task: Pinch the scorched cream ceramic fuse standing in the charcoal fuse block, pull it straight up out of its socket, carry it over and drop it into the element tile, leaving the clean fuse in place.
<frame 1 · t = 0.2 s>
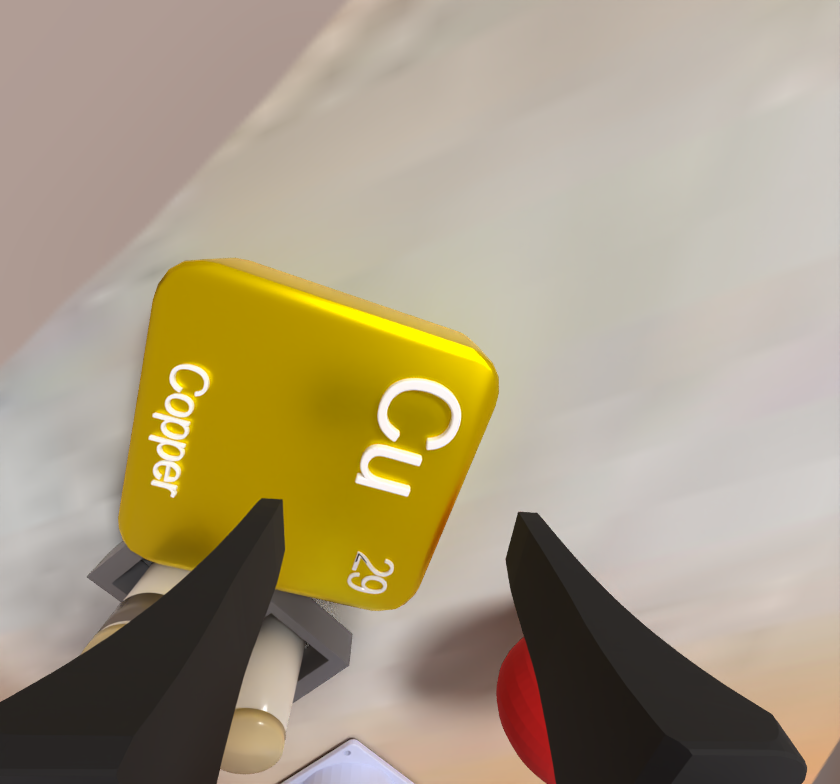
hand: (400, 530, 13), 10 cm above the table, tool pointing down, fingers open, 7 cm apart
fuse block: (239, 594, 26), on the table
blown fuse: (195, 558, 25), resting in fuse block
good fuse: (280, 626, 27), resting in fuse block
light bulb: (541, 596, 28), on the table
element tile: (319, 425, 24), on the table, touching fuse block
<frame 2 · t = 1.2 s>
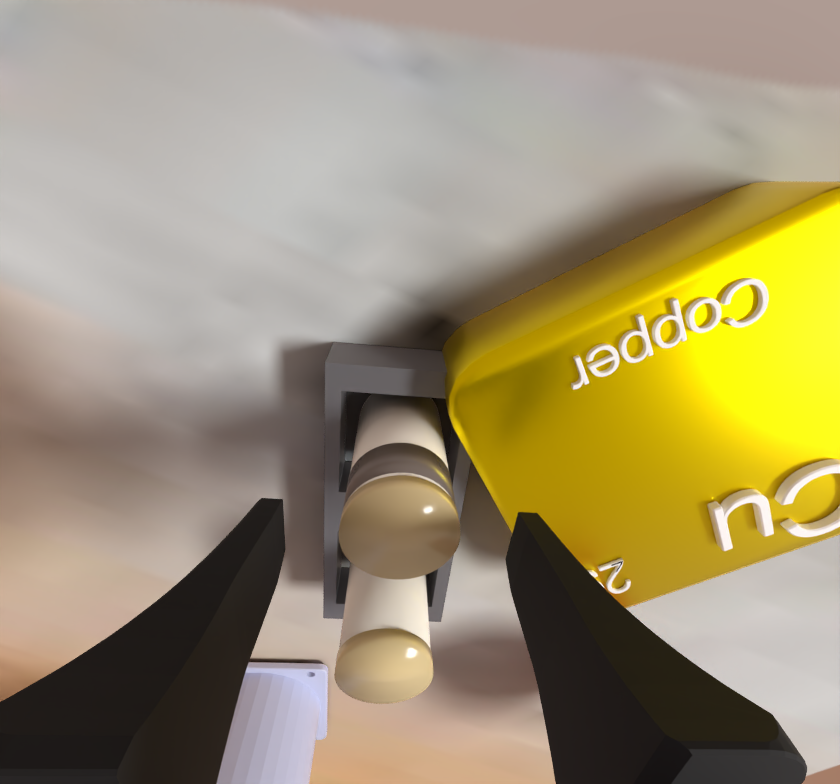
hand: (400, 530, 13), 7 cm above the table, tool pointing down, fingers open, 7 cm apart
fuse block: (393, 483, 21), on the table
blown fuse: (399, 420, 19), resting in fuse block
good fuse: (388, 536, 22), resting in fuse block
element tile: (634, 402, 20), on the table
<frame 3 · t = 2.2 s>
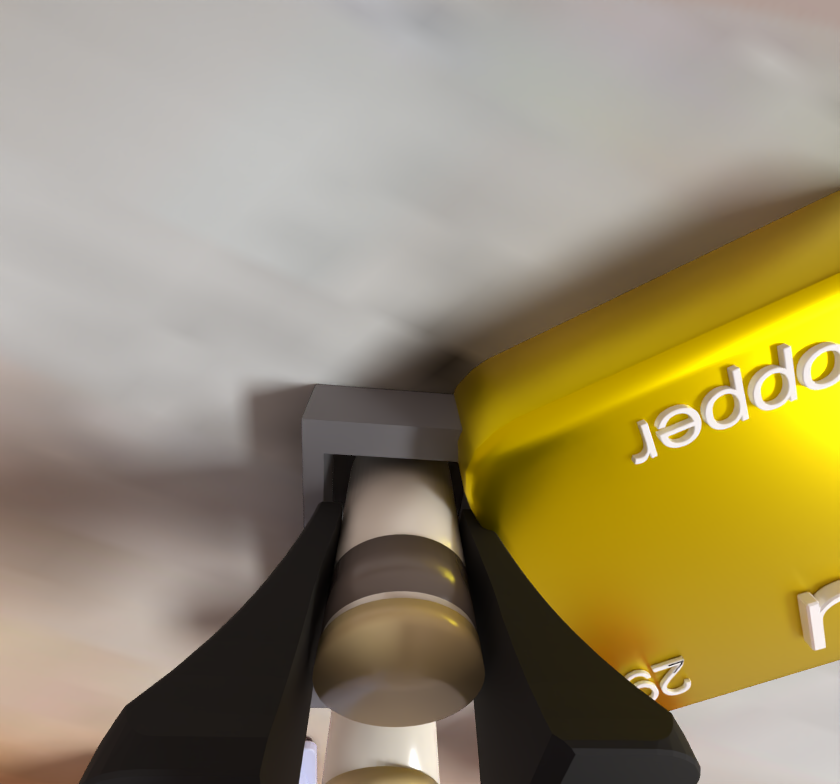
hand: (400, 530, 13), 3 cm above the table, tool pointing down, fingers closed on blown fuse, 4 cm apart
fuse block: (393, 548, 17), on the table
blown fuse: (400, 477, 15), resting in fuse block, touching gripper
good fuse: (387, 606, 19), resting in fuse block
element tile: (690, 452, 16), on the table, touching fuse block
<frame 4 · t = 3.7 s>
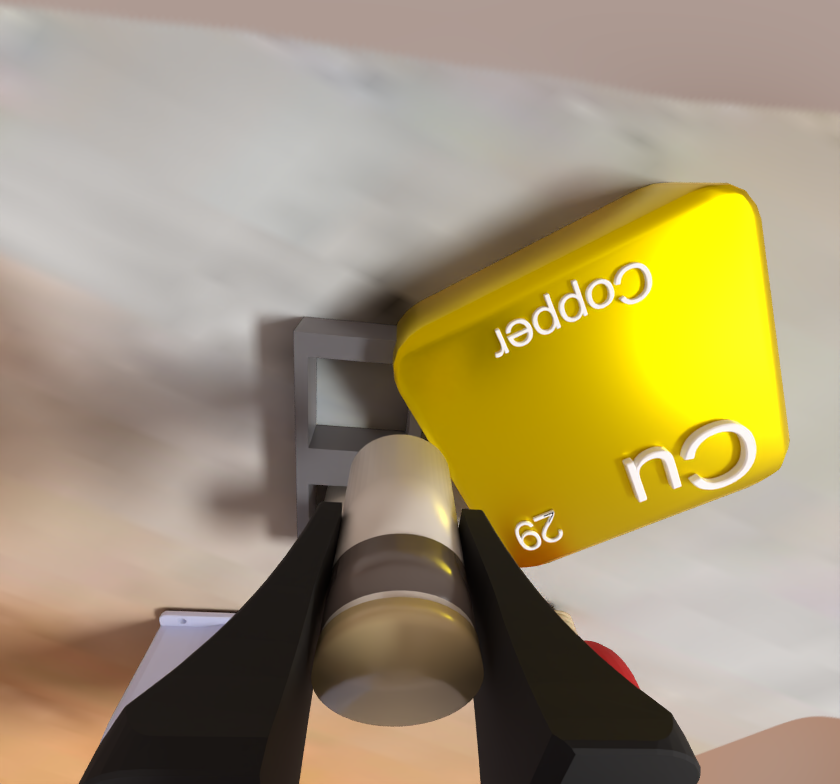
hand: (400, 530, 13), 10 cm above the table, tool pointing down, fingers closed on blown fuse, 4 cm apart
fuse block: (360, 445, 23), on the table
blown fuse: (399, 476, 15), point 7 cm above the table, touching gripper
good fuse: (357, 495, 25), resting in fuse block
light bulb: (548, 609, 31), on the table
element tile: (569, 376, 23), on the table, touching fuse block
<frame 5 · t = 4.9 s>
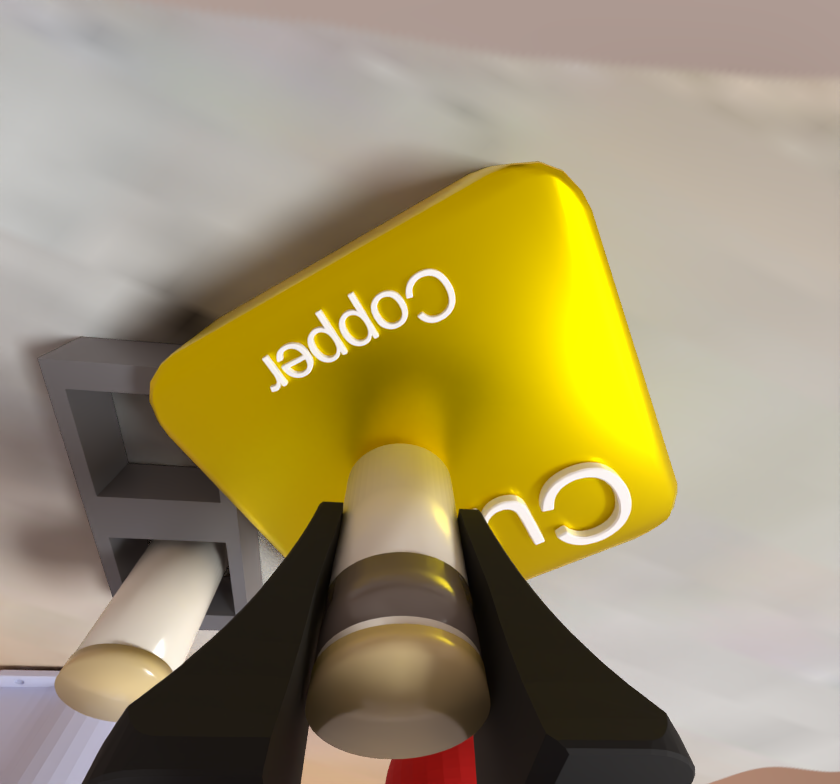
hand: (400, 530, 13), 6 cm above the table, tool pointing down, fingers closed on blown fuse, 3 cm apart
fuse block: (187, 486, 20), on the table
blown fuse: (399, 487, 15), point 4 cm above the table, touching gripper
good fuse: (197, 541, 21), resting in fuse block
light bulb: (449, 661, 27), on the table
element tile: (429, 402, 19), on the table
when the fingers open (6 cm above the table, at t = 5.2 s): blown fuse stays where it is, resting on element tile.
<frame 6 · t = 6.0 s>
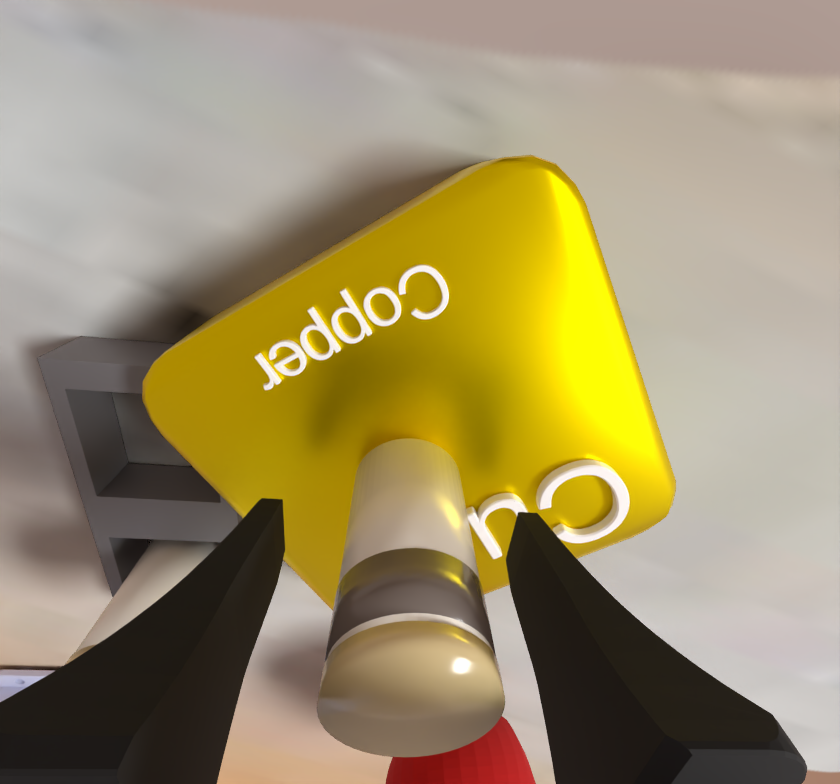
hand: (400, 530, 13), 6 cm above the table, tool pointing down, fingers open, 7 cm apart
fuse block: (187, 486, 20), on the table
blown fuse: (407, 482, 15), point 4 cm above the table, touching element tile
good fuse: (197, 541, 21), resting in fuse block
light bulb: (449, 661, 27), on the table
element tile: (426, 400, 19), on the table, touching blown fuse
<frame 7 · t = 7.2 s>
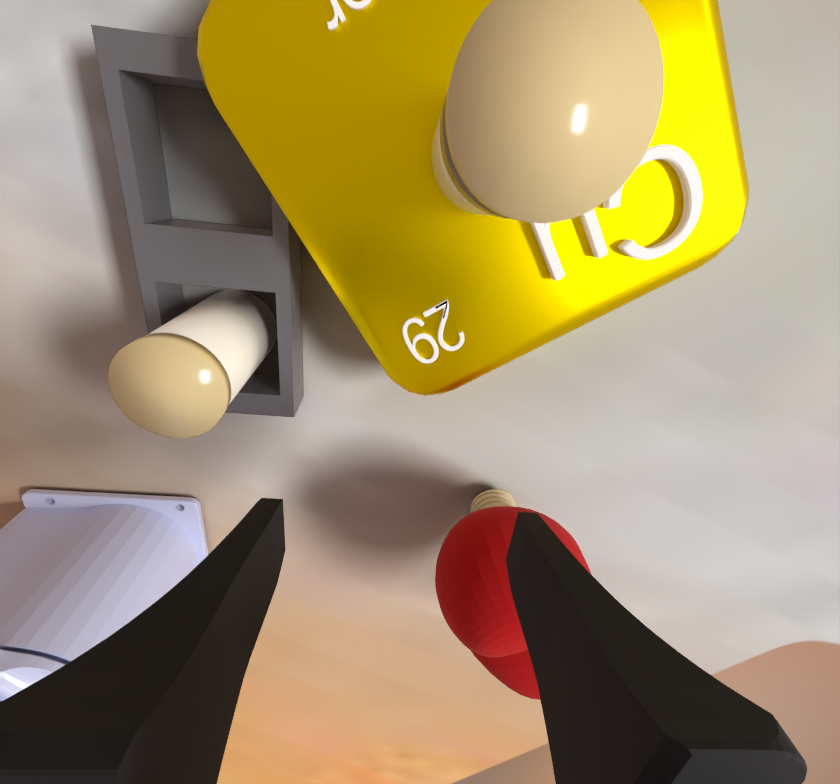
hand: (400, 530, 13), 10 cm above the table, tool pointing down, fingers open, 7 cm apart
fuse block: (232, 251, 19), on the table
blown fuse: (486, 154, 14), point 4 cm above the table, touching element tile
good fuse: (239, 326, 20), resting in fuse block
light bulb: (489, 495, 26), on the table
element tile: (476, 153, 18), on the table, touching blown fuse
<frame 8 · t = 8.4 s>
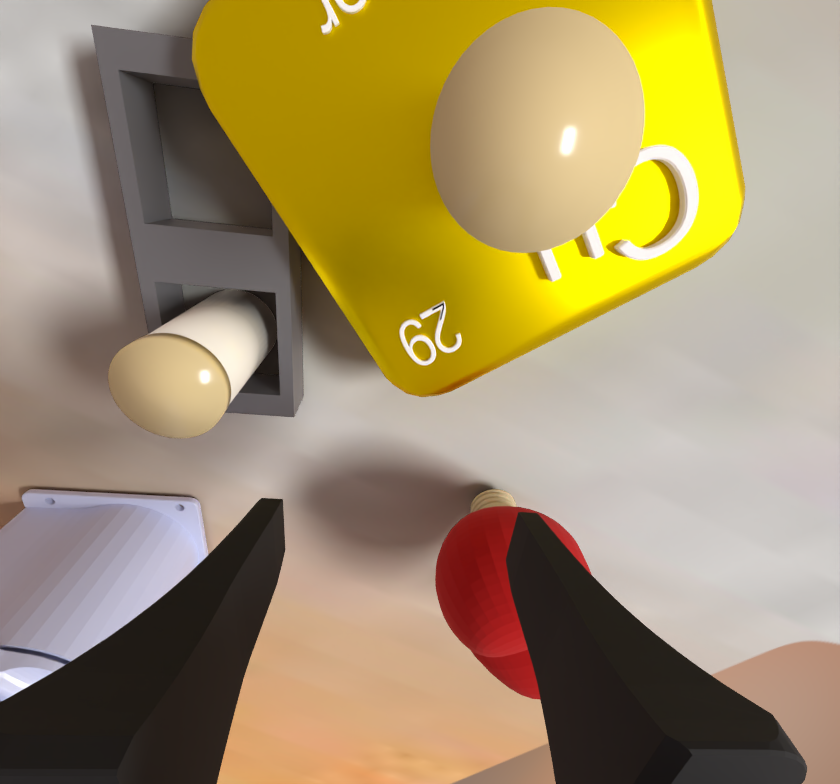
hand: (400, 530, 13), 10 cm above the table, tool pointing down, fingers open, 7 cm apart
fuse block: (232, 251, 19), on the table
blown fuse: (491, 149, 14), point 4 cm above the table, touching element tile
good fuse: (239, 326, 20), resting in fuse block
light bulb: (489, 495, 26), on the table
element tile: (472, 154, 18), on the table, touching blown fuse
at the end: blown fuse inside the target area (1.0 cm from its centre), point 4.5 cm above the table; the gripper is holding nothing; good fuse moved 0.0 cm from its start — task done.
